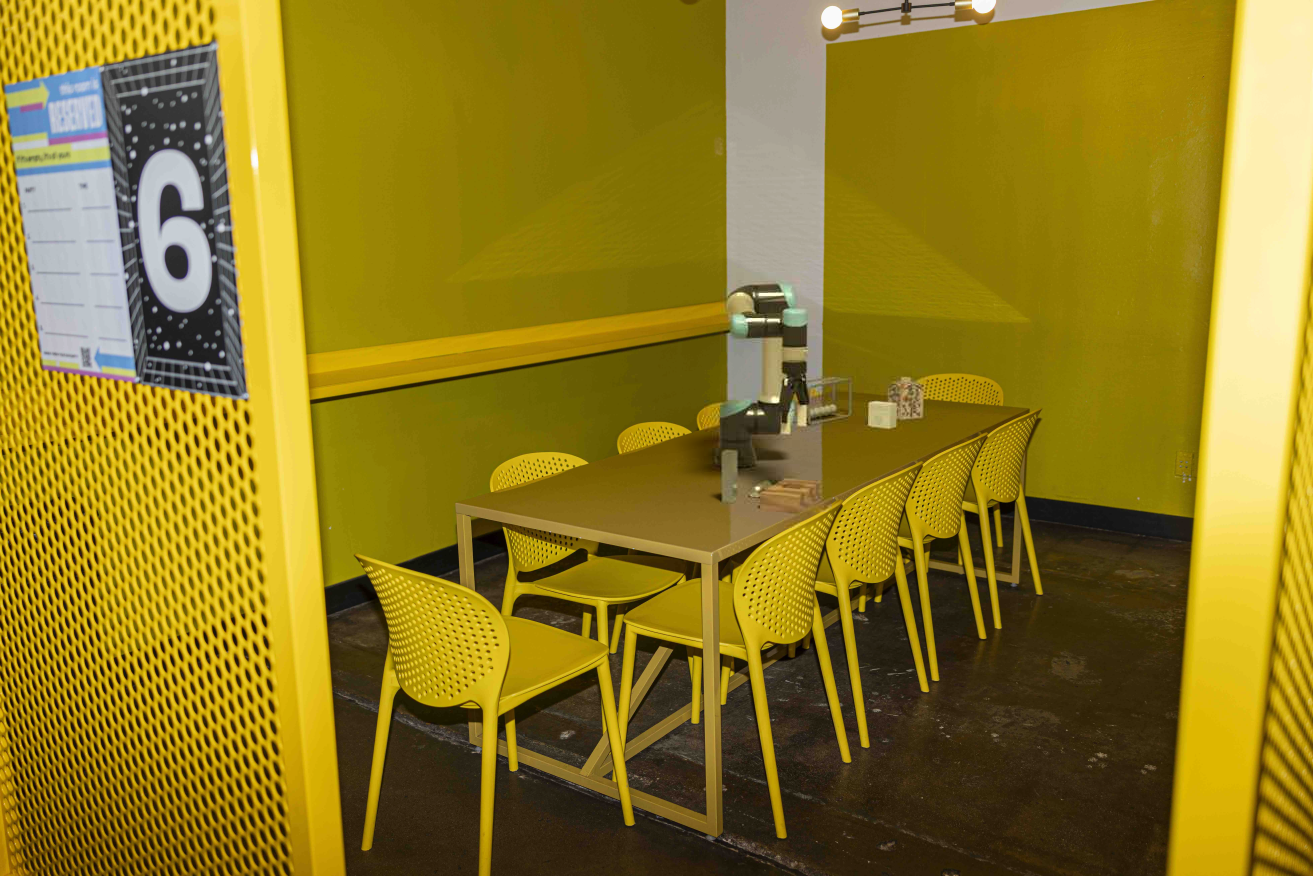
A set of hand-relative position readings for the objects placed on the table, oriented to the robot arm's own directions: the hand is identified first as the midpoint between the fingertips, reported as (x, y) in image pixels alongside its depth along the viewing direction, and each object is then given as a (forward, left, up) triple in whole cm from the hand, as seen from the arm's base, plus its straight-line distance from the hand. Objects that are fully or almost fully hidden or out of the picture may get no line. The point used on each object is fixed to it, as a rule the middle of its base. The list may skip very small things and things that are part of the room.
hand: (793, 429), depth 300 cm
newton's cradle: (-134, -39, -23) cm, 141 cm away
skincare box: (-129, -10, -23) cm, 131 cm away
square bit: (+8, -18, -23) cm, 30 cm away
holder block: (+2, 0, -23) cm, 23 cm away
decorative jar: (-154, -7, -23) cm, 156 cm away
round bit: (-4, -12, -23) cm, 26 cm away
